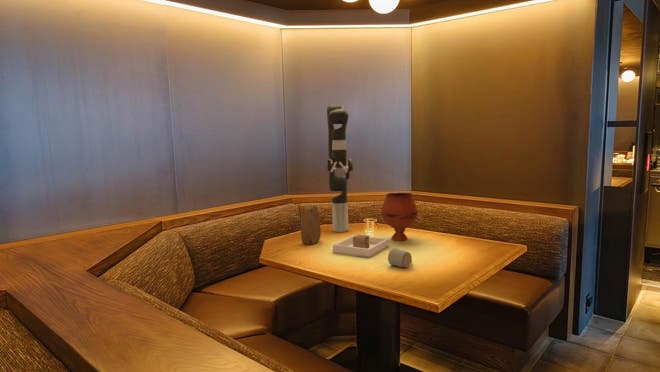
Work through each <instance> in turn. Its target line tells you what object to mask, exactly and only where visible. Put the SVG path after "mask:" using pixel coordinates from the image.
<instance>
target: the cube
mask: <svg viewBox="0 0 660 372" xmlns="http://www.w3.org/2000/svg"><path fill="white" fill-rule="evenodd" d="M369 237H370V235H365V234H357V235H356V236H354V237H353V247H358V248H366V249H367V248H369Z"/></svg>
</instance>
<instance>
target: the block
mask: <svg viewBox="0 0 660 372" xmlns="http://www.w3.org/2000/svg"><path fill="white" fill-rule="evenodd" d="M300 212H301V214H300V237H301V242H302V243H303V244H304V245H315V244H317V243H318V242H319V241H320V239H321V234H322V233H321V232H322V230H321V228H322V227H321V217H320V213H319V210H318V205H317V206H316V205H307V206H303V207H302V208H301V209H300Z"/></svg>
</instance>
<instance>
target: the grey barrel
mask: <svg viewBox="0 0 660 372" xmlns="http://www.w3.org/2000/svg"><path fill="white" fill-rule="evenodd" d="M412 259H413V256H412V254H411V253H410V251H407V250H403V249H400V248H398V247H392V248H391V249H390V251H388V256H387V261H388V263H389V265H391V266H395V267H398V268H399V267H400V268H408V267H409V266H411V264H412V263H413V260H412Z"/></svg>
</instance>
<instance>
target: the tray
mask: <svg viewBox="0 0 660 372" xmlns="http://www.w3.org/2000/svg"><path fill="white" fill-rule="evenodd" d="M354 236H356V235H355V234H353V235H351V236H349V237H347V238H345V239H343V240H340V241H338V242H336V243H333V244H332V253H333V254H337V255H338V254H340V255H346V256H347V255H348V256H351V257H352V256H353V257H354V256H355V257H359V256H360V258H366V259H369V258H372V257H374V256H375V255H377V254H379V253H380V252H382V251H383V250H386V249H387V248H389V247H390V246H389V242H390V241H389V238H385V237H376V236H375V237H374V236H369V248H367V249H366V248H358V247H353V237H354Z"/></svg>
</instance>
